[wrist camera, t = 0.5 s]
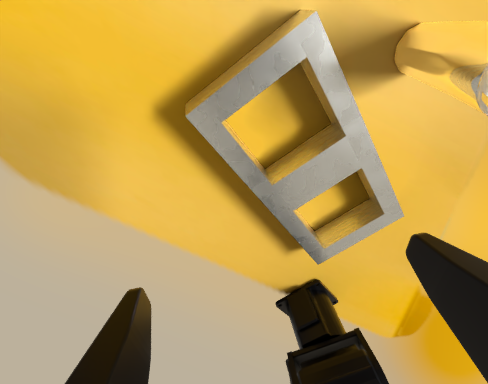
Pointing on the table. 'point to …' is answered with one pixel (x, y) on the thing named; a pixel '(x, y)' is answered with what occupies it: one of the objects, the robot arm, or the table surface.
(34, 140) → the table surface
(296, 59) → the block
